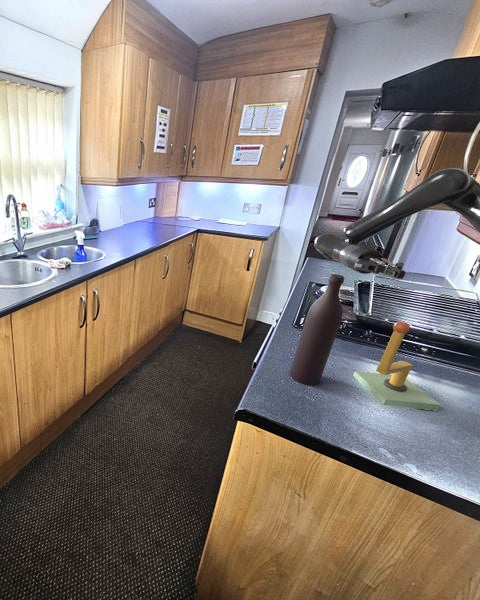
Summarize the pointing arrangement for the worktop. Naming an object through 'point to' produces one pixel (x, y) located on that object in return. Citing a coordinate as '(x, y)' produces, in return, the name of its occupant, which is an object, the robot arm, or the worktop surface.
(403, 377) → the rod
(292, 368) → the wine bottle
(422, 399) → the stand
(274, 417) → the worktop surface
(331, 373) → the worktop surface
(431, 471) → the worktop surface
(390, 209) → the robot arm
